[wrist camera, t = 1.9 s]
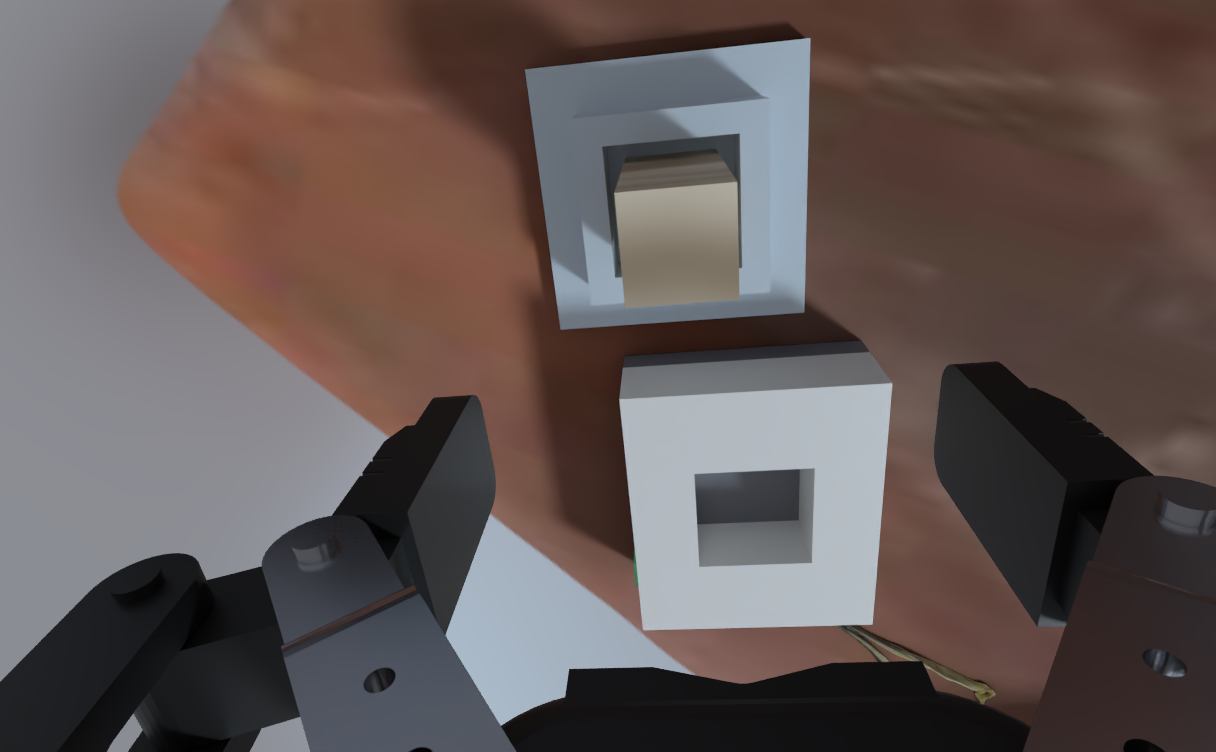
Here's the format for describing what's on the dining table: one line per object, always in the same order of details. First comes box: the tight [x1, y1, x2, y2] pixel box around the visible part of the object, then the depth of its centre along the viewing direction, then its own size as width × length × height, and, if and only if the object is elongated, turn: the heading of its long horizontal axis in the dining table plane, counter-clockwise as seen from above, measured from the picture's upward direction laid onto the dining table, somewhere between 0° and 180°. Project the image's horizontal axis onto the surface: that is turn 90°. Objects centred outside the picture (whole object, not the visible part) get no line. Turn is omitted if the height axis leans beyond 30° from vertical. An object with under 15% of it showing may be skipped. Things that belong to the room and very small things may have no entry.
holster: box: [525, 38, 810, 330], centre depth 30 cm, size 12×12×3 cm
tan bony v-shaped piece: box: [837, 625, 995, 704], centre depth 43 cm, size 4×13×2 cm, turn 58°
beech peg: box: [614, 149, 740, 308], centre depth 27 cm, size 4×4×9 cm
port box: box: [619, 340, 892, 630], centre depth 36 cm, size 14×12×5 cm
